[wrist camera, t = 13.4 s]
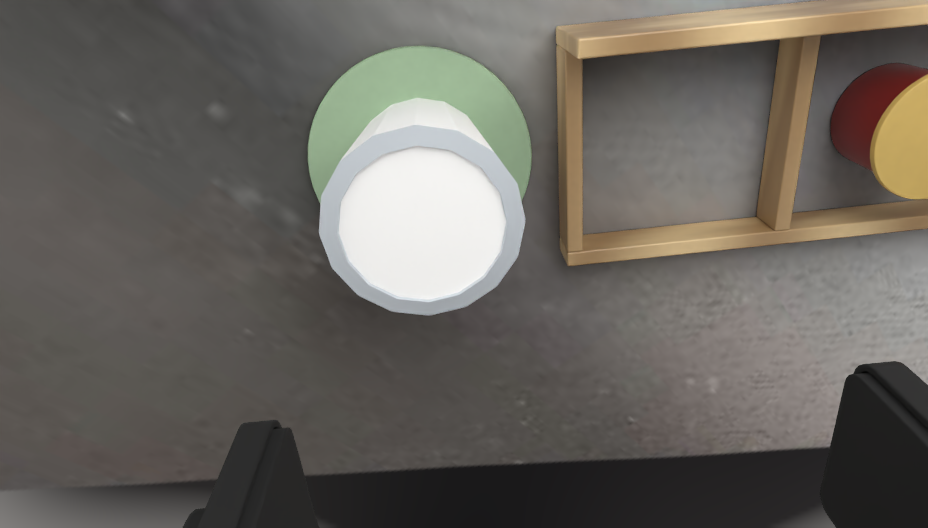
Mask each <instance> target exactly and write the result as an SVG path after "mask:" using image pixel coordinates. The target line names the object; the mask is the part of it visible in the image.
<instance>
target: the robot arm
mask: <svg viewBox="0 0 928 528" xmlns="http://www.w3.org/2000/svg"><path fill="white" fill-rule="evenodd" d="M820 495H821V501H822V505H823V508H824V510H825V511H826V513H827V515H828V516H829V518H830V519H831V521H832V522H833V524H834V525H835V527H836V528H928V385H927V384H926V383H925V382H923V381H922V380H921V379H920V378H919V377H918V376H917V375H916V374H914V373H913V372H912V371H911V370H910V369H909V368H908V367H907V366H905V365H904V364H902V363H901V362H896V361H893V362H883V363H872V364H863V365H859V366H858V367H857V368H856V369H855V371H854V374H851V375H849V376H848V377H847V378H846V381H845V384H844V389H843V393H842V397H841V402H840V406H839V410H838V415H837V419H836V424H835V428H834V432H833V437H832V441H831V446H830V450H829V455H828V459H827V463H826V468H825V472H824V476H823V481H822V485H821V490H820ZM183 528H319V527H318V523H317V519H316V516H315V512H314V508H313V505H312V501H311V498H310V494H309V490H308V487H307V483H306V479H305V476H304V472H303V469H302V465H301V461H300V458H299V454H298V451H297V447H296V443H295V440H294V436H293V433H292V430H291V429H290V428H282V427H281V425H280V423H279V422H278V421H277V420H270V421H260V422H249V423H243V424H242V425H241V426H240V427H239V429H238V431H237V434H236V436H235V439H234V441H233V443H232V446H231V448H230V451H229V453H228V455H227V458H226V460H225V463H224V465H223V467H222V470H221V472H220V475H219V477H218V479H217V482H216V484H215V487H214V489H213V491H212V494H211V496H210V498H209V501H208V503H207V506H206V508H203V509H196V510H194V511H193V512H192V513H191V514H190V515H189V517H188V519H187V520H186V522H185V524H184V526H183Z"/></svg>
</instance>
